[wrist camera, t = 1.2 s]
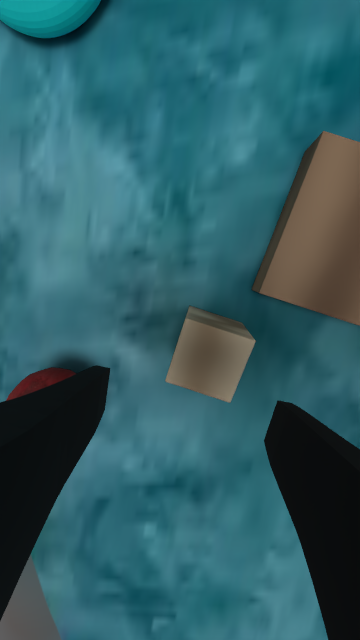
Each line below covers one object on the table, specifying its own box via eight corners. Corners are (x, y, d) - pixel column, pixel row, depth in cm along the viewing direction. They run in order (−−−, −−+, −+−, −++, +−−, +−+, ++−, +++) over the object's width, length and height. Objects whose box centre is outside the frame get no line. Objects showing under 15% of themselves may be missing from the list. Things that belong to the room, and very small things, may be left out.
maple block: (241, 322, 19) (255, 340, 15) (222, 370, 21) (230, 402, 16) (189, 305, 20) (186, 318, 15) (173, 354, 21) (165, 381, 16)
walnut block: (438, 197, 17) (488, 182, 14) (369, 327, 19) (399, 338, 16) (302, 154, 17) (323, 130, 14) (250, 289, 19) (259, 292, 16)
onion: (44, 350, 21) (-45, 398, 14) (106, 358, 21) (51, 411, 13) (46, 407, 23) (-35, 480, 15) (104, 416, 22) (53, 495, 15)
